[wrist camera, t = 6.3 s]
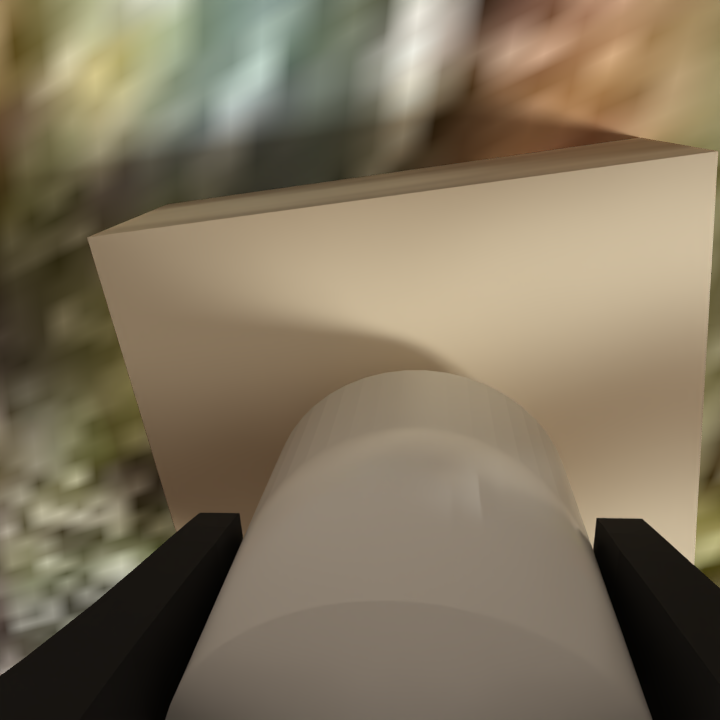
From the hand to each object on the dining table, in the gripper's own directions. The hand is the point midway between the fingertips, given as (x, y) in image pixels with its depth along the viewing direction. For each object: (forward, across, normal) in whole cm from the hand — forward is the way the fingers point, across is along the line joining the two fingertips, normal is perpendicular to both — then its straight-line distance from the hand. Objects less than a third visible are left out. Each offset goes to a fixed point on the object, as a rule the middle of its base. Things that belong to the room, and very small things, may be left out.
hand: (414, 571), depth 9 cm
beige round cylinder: (+2, 0, 0) cm, 2 cm away
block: (+7, 0, 0) cm, 7 cm away
